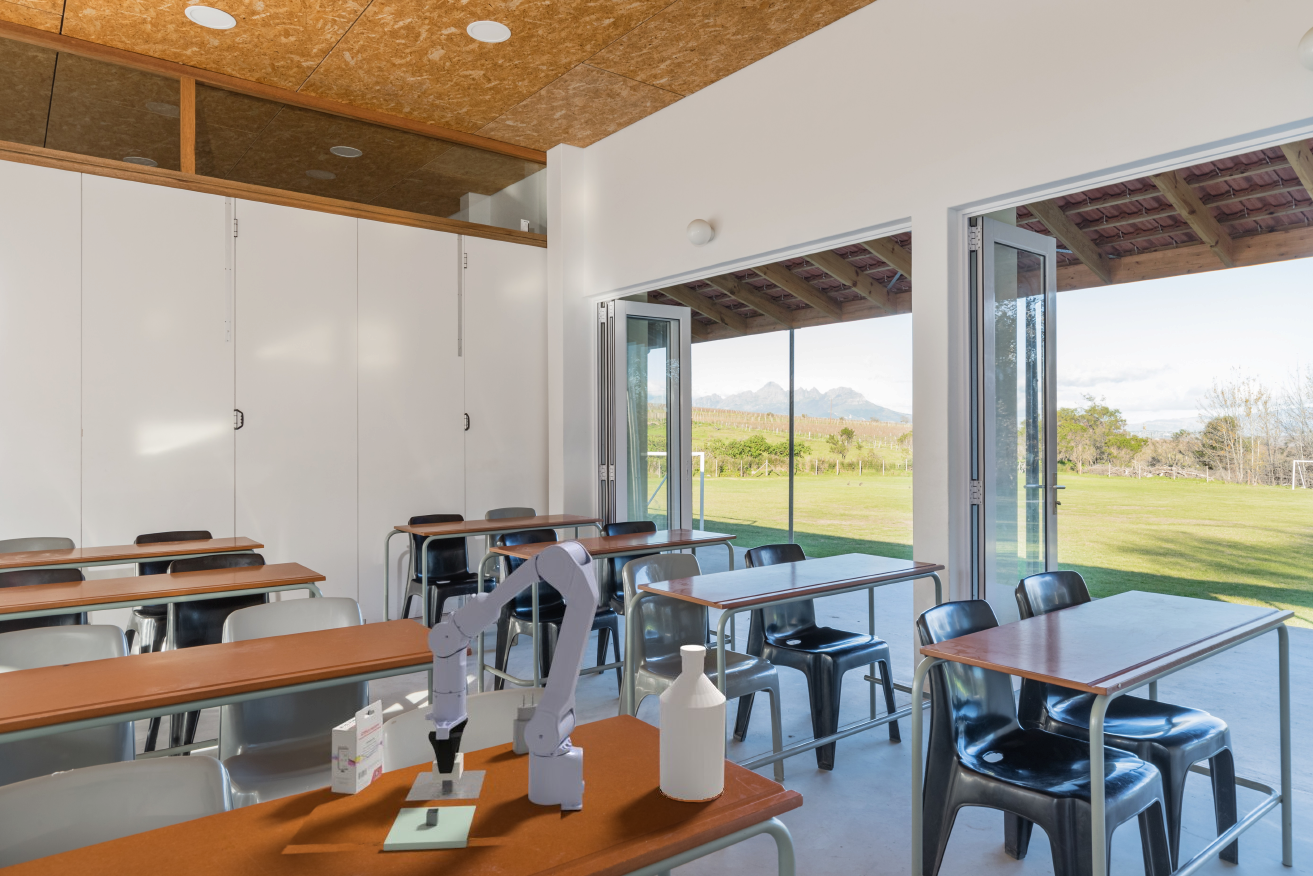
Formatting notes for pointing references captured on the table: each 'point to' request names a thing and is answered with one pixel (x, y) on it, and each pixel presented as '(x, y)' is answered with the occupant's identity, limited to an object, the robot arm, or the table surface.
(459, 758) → the cream ring
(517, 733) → the power adapter
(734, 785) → the table surface
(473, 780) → the grey stand plate
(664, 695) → the bottle
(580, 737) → the table surface
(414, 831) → the sage hub plate
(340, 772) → the ink cartridge box
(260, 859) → the table surface
